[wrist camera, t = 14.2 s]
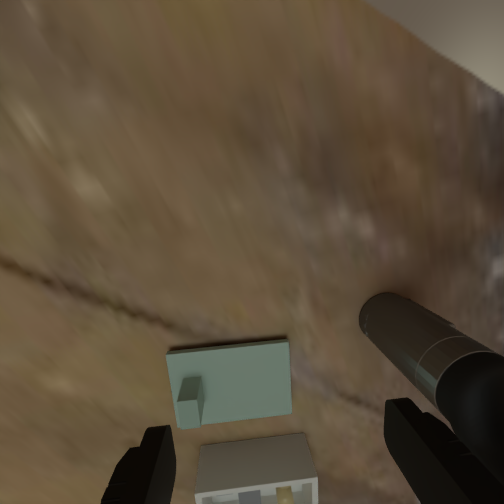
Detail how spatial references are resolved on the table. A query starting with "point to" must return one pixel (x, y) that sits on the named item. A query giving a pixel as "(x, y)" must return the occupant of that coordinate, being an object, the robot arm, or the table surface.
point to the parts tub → (257, 472)
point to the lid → (230, 382)
